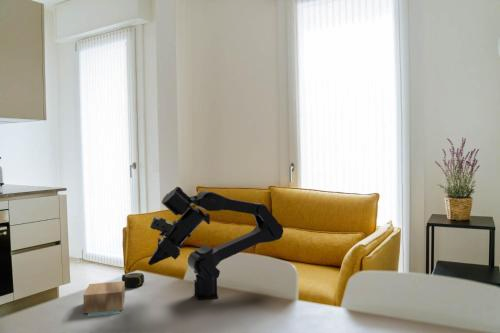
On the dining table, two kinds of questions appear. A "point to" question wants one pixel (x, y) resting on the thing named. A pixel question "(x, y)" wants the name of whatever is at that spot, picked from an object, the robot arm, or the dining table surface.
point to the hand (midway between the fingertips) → (149, 264)
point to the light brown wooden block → (104, 297)
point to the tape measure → (133, 279)
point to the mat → (103, 313)
